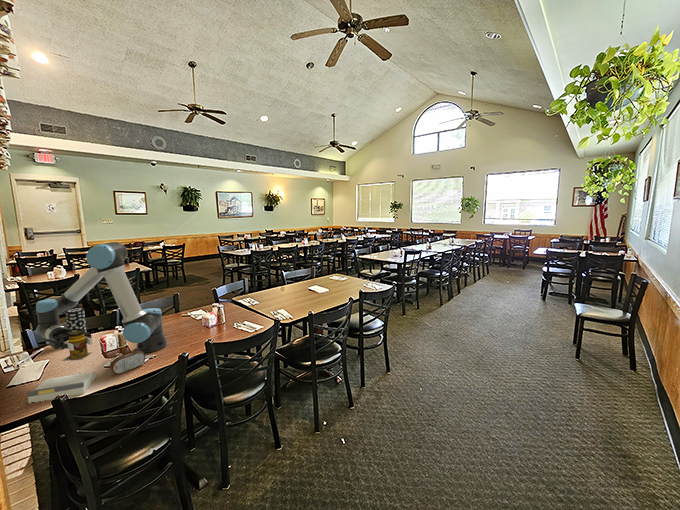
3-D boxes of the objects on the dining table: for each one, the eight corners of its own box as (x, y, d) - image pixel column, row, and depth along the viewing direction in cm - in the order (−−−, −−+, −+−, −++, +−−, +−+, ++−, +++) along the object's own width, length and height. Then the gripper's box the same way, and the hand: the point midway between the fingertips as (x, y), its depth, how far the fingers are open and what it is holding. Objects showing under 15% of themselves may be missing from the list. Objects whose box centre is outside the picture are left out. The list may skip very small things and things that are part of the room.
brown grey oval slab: (144, 362, 154) (142, 347, 152) (147, 364, 152) (145, 349, 151) (110, 375, 141) (108, 359, 140) (113, 377, 139) (111, 361, 138)
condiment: (81, 360, 132) (78, 335, 130) (60, 361, 131) (57, 335, 129) (93, 352, 139) (90, 328, 137) (73, 353, 138) (70, 329, 136)
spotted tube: (90, 340, 179) (87, 308, 176) (74, 345, 171) (71, 313, 168) (81, 338, 182) (78, 307, 179) (65, 343, 174) (61, 311, 171)
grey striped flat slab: (95, 377, 139) (94, 367, 139) (83, 394, 126) (82, 383, 126) (46, 385, 132) (44, 375, 131) (28, 404, 119) (26, 392, 119)
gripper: (83, 334, 151) (107, 344, 141) (32, 349, 134) (55, 361, 124) (82, 320, 150) (105, 329, 139) (30, 334, 133) (53, 345, 123)
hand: (82, 344), depth 132 cm, fingers closed on condiment, 6 cm apart
